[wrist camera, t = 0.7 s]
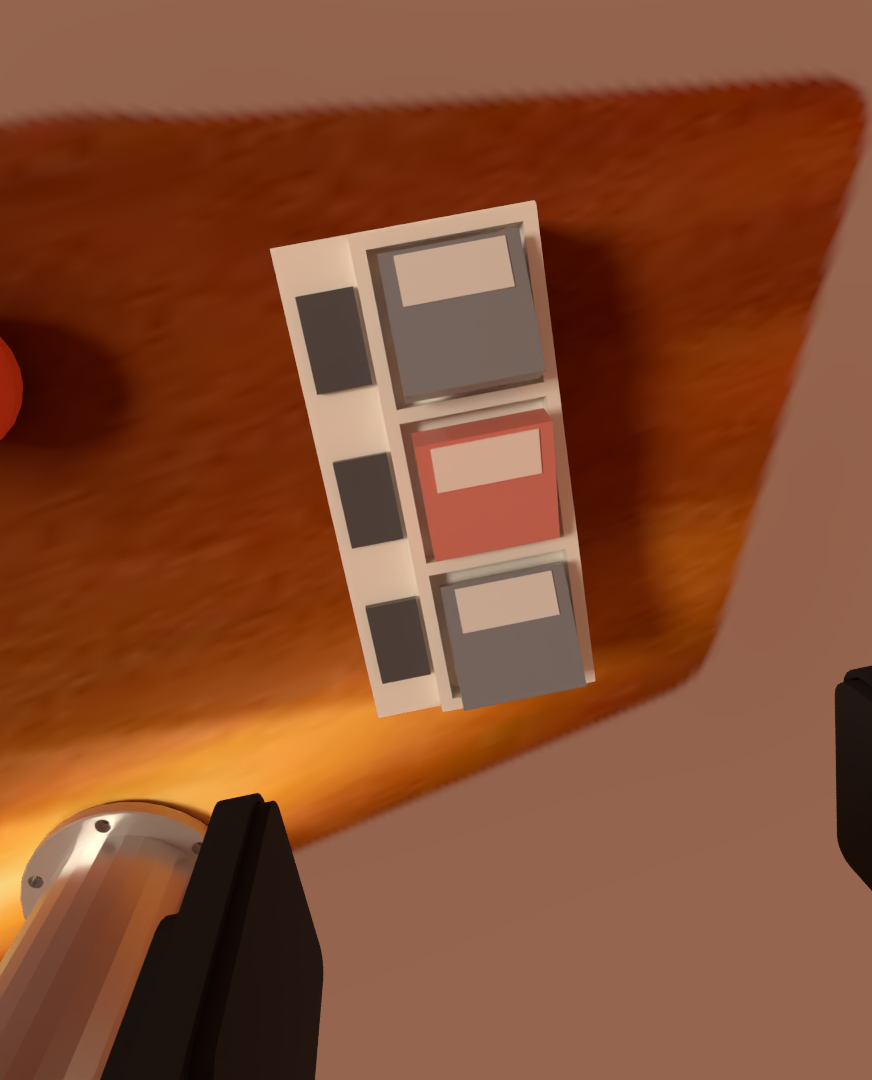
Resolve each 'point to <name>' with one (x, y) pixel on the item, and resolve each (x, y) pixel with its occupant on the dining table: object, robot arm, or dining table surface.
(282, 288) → the rocker switch panel
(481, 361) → the plate
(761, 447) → the dining table surface
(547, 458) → the rocker mid
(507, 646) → the rocker
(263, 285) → the dining table surface
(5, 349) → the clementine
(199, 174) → the dining table surface
